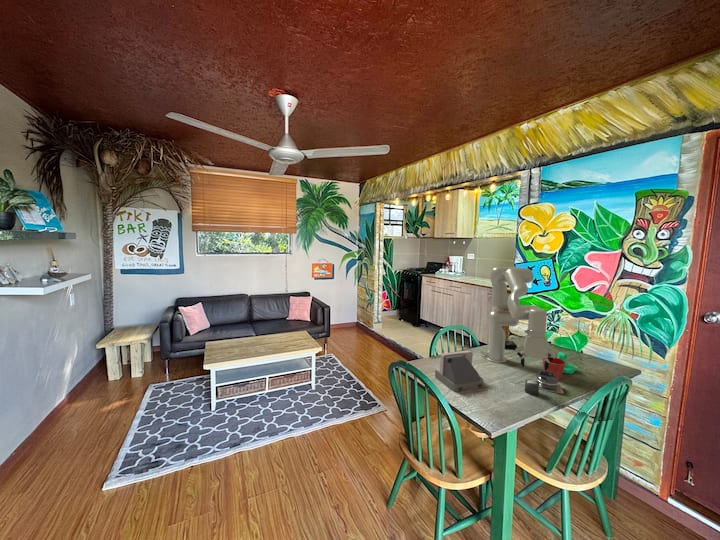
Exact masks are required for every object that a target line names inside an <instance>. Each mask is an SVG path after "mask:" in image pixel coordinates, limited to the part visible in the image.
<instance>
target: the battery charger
mask: <svg viewBox="0 0 720 540" xmlns="http://www.w3.org/2000/svg"><path fill="white" fill-rule="evenodd" d="M515 348H518V344H516V342H514V341H513V340H505V350H511V349H513V351H516V350H515Z"/></svg>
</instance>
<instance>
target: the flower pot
mask: <svg viewBox="0 0 720 540" xmlns="http://www.w3.org/2000/svg"><path fill="white" fill-rule="evenodd" d="M549 357H550V356H548V358H549ZM544 364H545V359H542V365H543V366H542V367H543V370H544V371H545V369H544ZM564 367H565V361H563V360H561V359H558V358H556V357H555V358H554V359H553V360H552V361H551V362H550V363H549V368H548V369H547V371H549V372H552V373H554V376H555V377H557V378H558V381H559V380H561V379H562V376H563V370H564Z"/></svg>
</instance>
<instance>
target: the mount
mask: <svg viewBox="0 0 720 540" xmlns="http://www.w3.org/2000/svg"><path fill="white" fill-rule="evenodd" d="M555 358H558V359H561V360H563V361H565V367H564V370H563V373H564V374H569V375H570V374H573V373H575V372H576V371H578V366H576V365H572V364H570V363H568V362H567V359H568V354H567V353H564V352H562V351H559V352H558V353H557V354H556V357H555ZM563 373H562V374H563Z"/></svg>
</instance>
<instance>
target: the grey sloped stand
mask: <svg viewBox="0 0 720 540" xmlns="http://www.w3.org/2000/svg"><path fill="white" fill-rule="evenodd" d="M473 356H474V355H473V352H472V351H471V350H461V351H460V350H459V351H452V352H444V353H441V354H440V361H439V367H438V366H437V367H435V369H434V370H435V371H434V377H435V379H436V380H438V381H439V382H440V383H442V384H443V385H444V386H446V387H447V388H448V389H450V391H453V392H456V393H457V392H463V391H468V390H474V389H480V388H483V387H484V384H485V383H484V382H485V381H484V378H483V377H481V375H480V374H479V372H478V371H477V370H476V369H475V367H474V366H473Z"/></svg>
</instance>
